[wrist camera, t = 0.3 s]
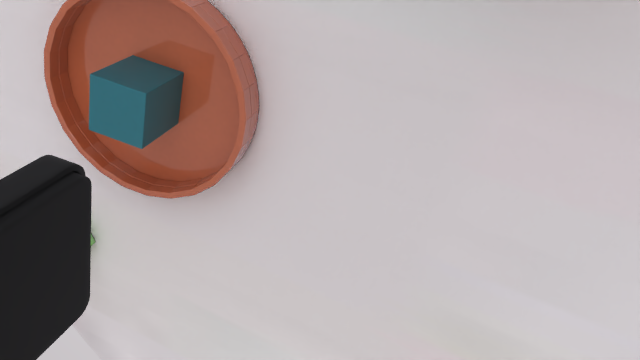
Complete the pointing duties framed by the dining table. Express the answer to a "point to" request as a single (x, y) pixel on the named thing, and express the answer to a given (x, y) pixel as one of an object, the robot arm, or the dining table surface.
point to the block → (134, 100)
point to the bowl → (168, 50)
